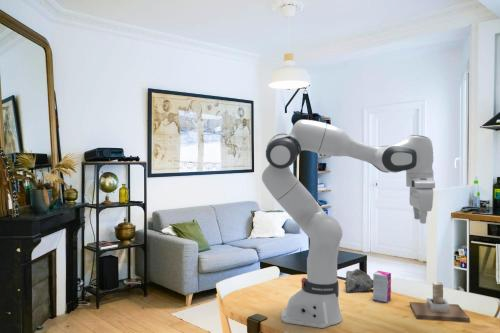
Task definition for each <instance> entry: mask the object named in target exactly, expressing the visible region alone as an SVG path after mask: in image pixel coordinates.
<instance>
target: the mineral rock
mask: <svg viewBox="0 0 500 333" xmlns="http://www.w3.org/2000/svg"><path fill="white" fill-rule="evenodd" d="M345 274H346V275H345V284H344V285H345V286H344V288H345V291H346V292H347V293H350V292H351V293H352V292H355V293H356V292H364V291H369V290H371V289H373V278H371V276H370V275H369V274H368V273H367V272H364V271H363V270H361V269H359V268H356V269H354V270H346V273H345Z"/></svg>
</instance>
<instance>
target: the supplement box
mask: <svg viewBox="0 0 500 333" xmlns="http://www.w3.org/2000/svg"><path fill="white" fill-rule="evenodd" d="M372 280H373V288H372V289H373V292H372V301H374V302H377V301H378V302H379V303H382V302H383V304H387V303H388V302H389V301H391V300H392V299H391V295H392V294H391V293H392V292H391V290H392V273H391V272H388V271H387V272H386V271H382V270H376V271H375V272H373V278H372Z"/></svg>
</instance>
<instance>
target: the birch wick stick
mask: <svg viewBox="0 0 500 333" xmlns="http://www.w3.org/2000/svg"><path fill="white" fill-rule="evenodd" d="M432 299H433V303H434V304H443V299H444V284H443V283H442V282H440V281H438V282H437V281H432Z"/></svg>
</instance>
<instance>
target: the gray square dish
mask: <svg viewBox="0 0 500 333" xmlns="http://www.w3.org/2000/svg"><path fill="white" fill-rule="evenodd" d="M426 303H427V307H428V309H429V310H430V312H436V313H450V305H449V304H450V303H448V301H447V300H446V299H445V298H443V304H434V303H433V298H430V297H429V298H426Z"/></svg>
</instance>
